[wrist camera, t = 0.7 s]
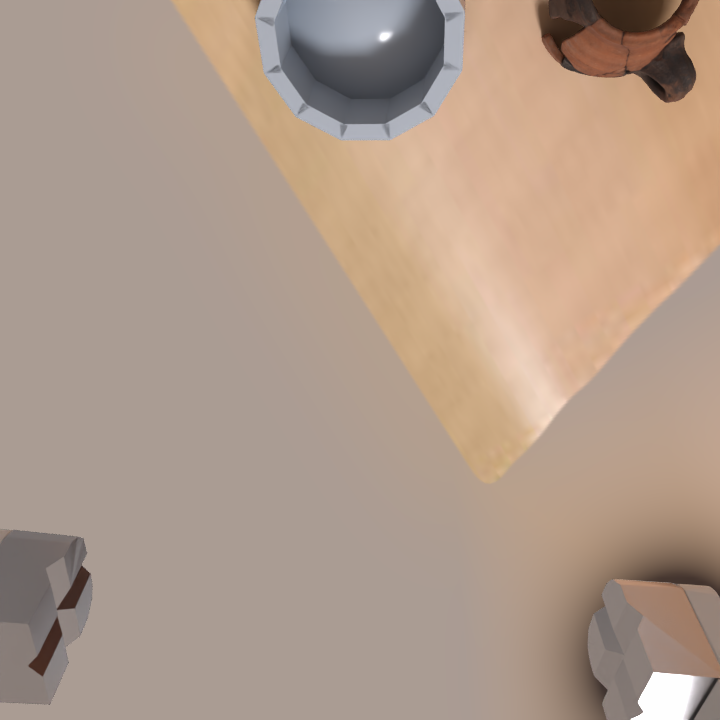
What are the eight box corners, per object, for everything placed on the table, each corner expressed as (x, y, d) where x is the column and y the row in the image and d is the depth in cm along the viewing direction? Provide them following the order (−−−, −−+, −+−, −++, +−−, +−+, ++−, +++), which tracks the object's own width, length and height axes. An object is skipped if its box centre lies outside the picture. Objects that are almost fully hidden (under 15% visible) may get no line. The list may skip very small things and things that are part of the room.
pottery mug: (500, 20, 46) (527, -12, 38) (602, -98, 44) (653, -157, 36) (619, 143, 48) (668, 137, 40) (721, 35, 46) (795, 7, 38)
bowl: (399, -146, 40) (393, -130, 36) (497, 50, 47) (499, 79, 44) (234, -17, 46) (215, 7, 42) (343, 139, 53) (334, 170, 50)
